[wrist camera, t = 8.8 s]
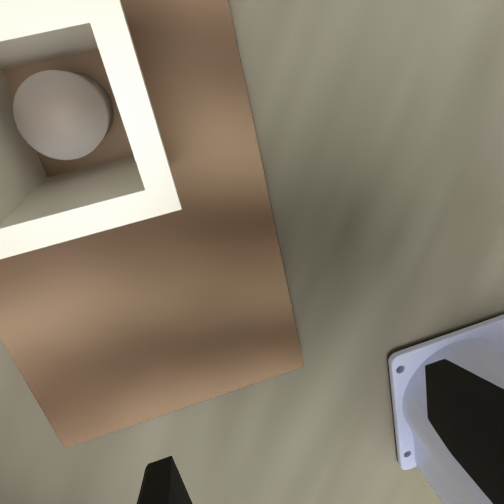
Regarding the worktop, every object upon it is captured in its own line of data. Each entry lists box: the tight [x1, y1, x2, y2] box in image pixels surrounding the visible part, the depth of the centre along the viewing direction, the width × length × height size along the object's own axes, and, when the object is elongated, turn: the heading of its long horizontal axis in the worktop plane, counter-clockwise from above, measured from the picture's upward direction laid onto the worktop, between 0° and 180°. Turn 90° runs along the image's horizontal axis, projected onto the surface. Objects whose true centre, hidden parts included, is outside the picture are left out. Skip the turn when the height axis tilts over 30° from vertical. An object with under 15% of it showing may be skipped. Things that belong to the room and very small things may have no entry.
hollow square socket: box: [0, 0, 182, 259], centre depth 12 cm, size 5×5×6 cm
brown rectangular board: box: [0, 0, 304, 448], centre depth 16 cm, size 18×12×4 cm, turn 12°
